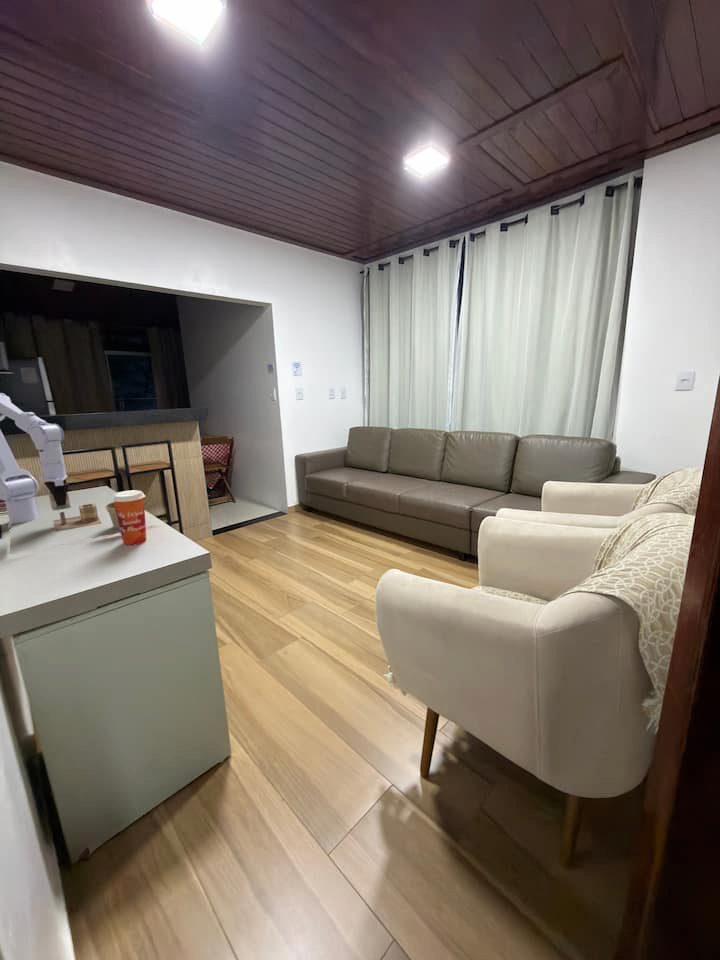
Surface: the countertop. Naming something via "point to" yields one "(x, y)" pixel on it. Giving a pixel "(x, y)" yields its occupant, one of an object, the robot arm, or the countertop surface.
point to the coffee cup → (131, 516)
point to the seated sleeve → (88, 512)
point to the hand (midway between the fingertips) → (60, 503)
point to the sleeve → (54, 505)
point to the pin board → (72, 523)
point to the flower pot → (113, 514)
